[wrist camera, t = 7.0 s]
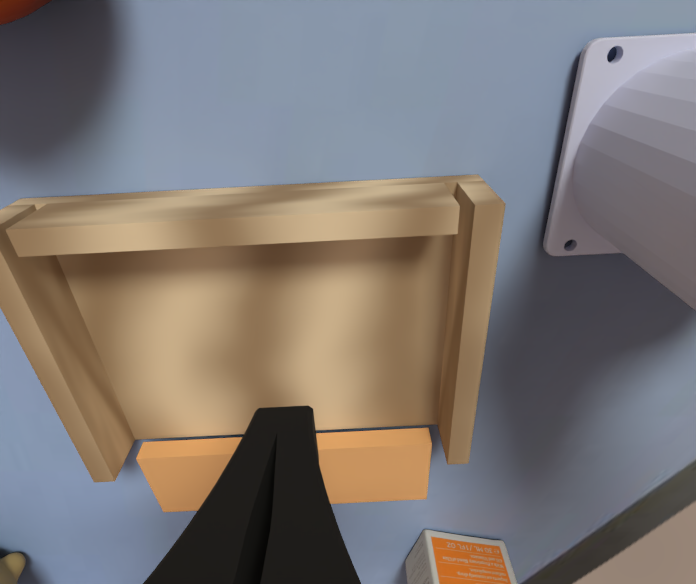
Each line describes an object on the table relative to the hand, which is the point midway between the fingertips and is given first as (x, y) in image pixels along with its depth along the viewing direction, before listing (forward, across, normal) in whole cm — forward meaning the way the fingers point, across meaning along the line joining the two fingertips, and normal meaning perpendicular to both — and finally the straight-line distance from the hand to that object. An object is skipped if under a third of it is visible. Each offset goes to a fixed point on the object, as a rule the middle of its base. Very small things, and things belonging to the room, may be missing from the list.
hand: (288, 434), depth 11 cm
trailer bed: (+9, +2, +3) cm, 10 cm away
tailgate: (+8, +2, +10) cm, 13 cm away
